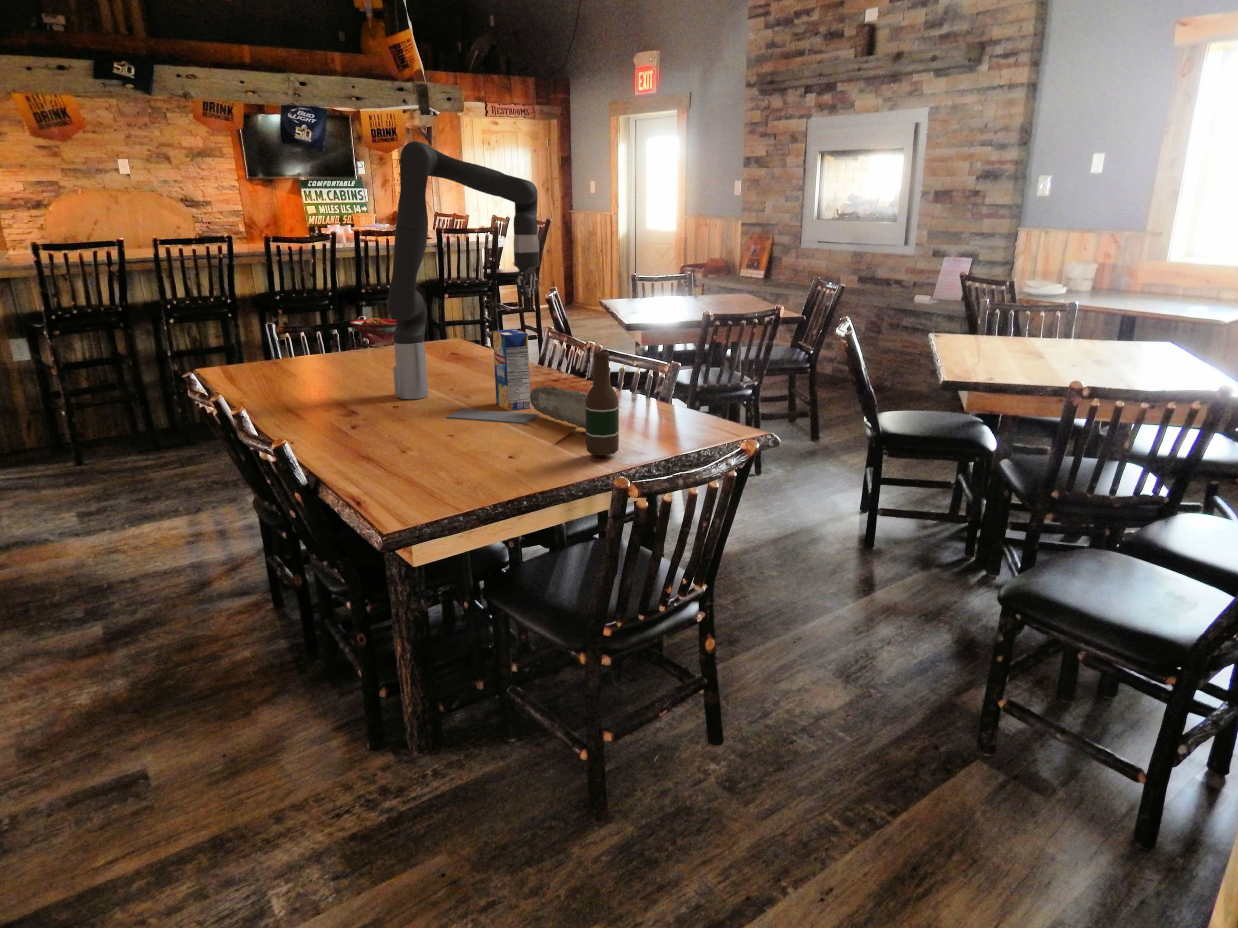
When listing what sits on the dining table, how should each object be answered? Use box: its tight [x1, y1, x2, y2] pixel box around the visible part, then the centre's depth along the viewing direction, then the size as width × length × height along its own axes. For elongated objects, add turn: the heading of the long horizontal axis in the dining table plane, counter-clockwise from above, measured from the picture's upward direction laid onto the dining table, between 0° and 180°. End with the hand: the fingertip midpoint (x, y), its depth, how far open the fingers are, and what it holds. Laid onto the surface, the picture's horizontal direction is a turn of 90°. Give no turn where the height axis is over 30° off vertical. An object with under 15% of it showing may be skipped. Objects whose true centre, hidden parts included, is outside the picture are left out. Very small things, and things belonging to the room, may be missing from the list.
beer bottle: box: [585, 350, 620, 456], centre depth 194 cm, size 8×8×24 cm
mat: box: [445, 408, 540, 425], centre depth 232 cm, size 24×10×1 cm, turn 73°
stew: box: [349, 317, 396, 349], centre depth 349 cm, size 28×24×16 cm
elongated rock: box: [530, 385, 588, 430], centre depth 221 cm, size 35×5×10 cm, turn 42°
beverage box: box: [492, 328, 531, 412], centre depth 242 cm, size 7×11×22 cm, turn 27°
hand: (528, 309), depth 250 cm, fingers closed
